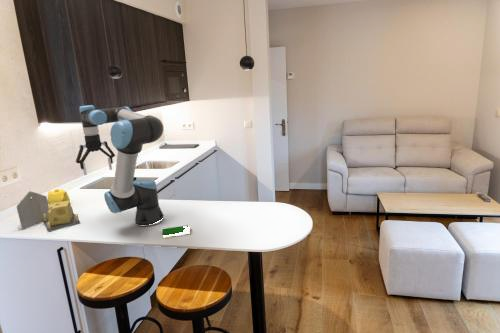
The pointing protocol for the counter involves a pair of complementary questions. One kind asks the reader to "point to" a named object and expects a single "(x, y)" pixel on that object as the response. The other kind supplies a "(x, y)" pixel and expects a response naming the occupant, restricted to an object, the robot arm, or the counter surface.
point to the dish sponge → (172, 230)
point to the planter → (32, 209)
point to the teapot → (57, 196)
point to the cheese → (60, 213)
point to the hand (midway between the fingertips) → (98, 172)
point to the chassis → (55, 227)
